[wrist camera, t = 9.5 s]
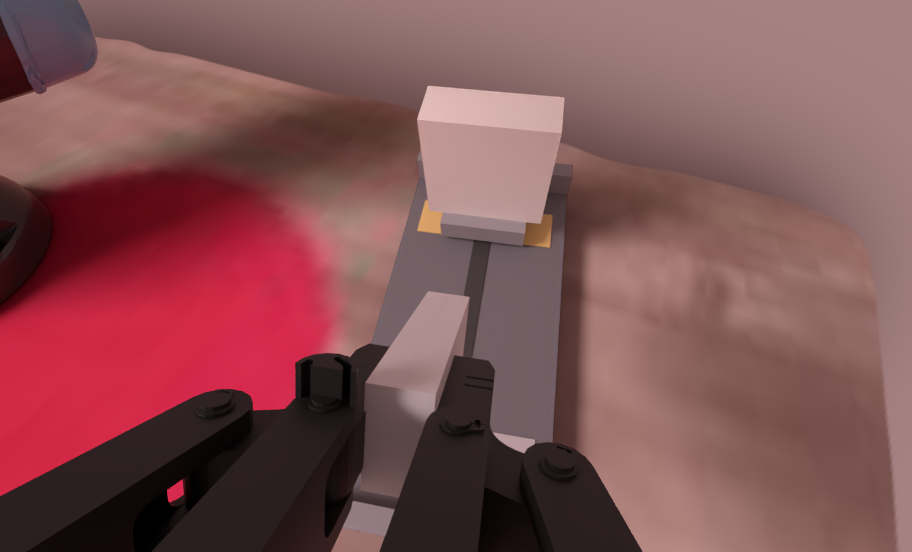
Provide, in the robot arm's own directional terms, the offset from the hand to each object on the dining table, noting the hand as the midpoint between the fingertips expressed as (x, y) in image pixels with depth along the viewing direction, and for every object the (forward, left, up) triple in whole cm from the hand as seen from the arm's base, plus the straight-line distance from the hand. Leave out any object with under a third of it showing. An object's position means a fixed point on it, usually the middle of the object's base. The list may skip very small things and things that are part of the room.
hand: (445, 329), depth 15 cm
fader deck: (-4, +4, -14) cm, 15 cm away
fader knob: (-9, +11, -11) cm, 18 cm away
